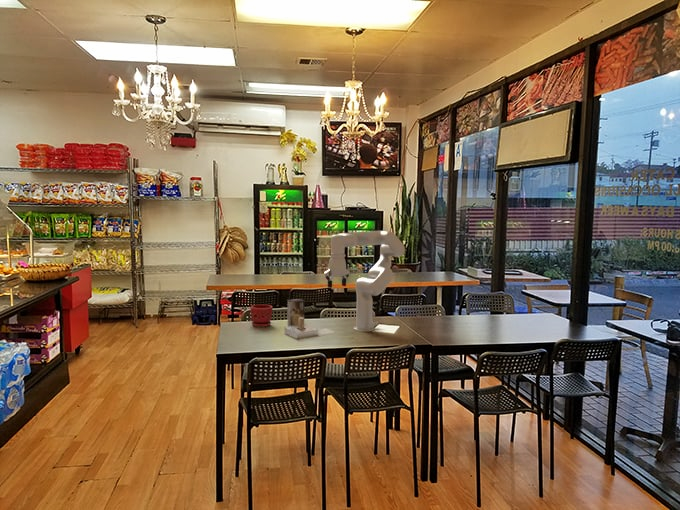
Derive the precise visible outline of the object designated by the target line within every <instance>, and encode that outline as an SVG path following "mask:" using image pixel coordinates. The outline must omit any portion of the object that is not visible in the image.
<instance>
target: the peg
mask: <svg viewBox="0 0 680 510" xmlns="http://www.w3.org/2000/svg"><path fill="white" fill-rule="evenodd" d="M304 324H305V317H304V318H299V330H302V329H304Z"/></svg>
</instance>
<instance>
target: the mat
mask: <svg viewBox="0 0 680 510" xmlns="http://www.w3.org/2000/svg"><path fill="white" fill-rule="evenodd" d="M333 333H336V331H333V330H331V329H329V328H327V327H326V328H321V329H318V335H321V336H322V335H323V336H325V335H329V334H333Z"/></svg>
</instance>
